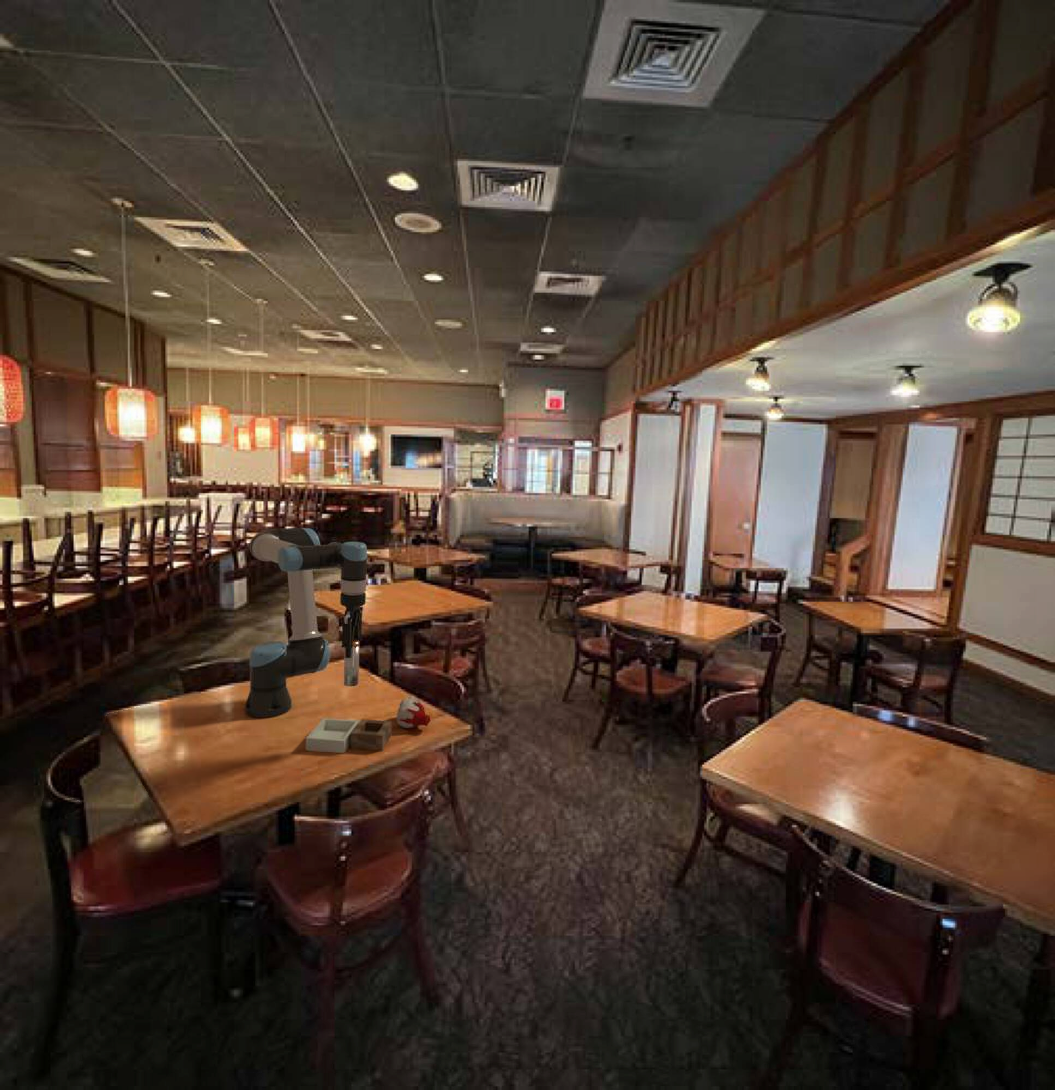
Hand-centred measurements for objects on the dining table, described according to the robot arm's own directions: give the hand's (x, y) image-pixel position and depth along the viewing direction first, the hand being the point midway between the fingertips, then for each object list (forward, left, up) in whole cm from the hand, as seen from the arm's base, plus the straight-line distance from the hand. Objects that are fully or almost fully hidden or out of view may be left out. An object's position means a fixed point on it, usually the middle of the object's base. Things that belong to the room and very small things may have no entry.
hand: (351, 663), depth 174 cm
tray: (+1, -5, -26) cm, 26 cm away
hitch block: (0, +7, -26) cm, 27 cm away
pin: (0, 0, -7) cm, 7 cm away
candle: (-13, +17, -26) cm, 34 cm away
